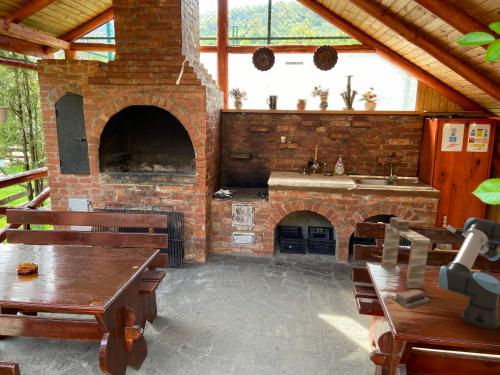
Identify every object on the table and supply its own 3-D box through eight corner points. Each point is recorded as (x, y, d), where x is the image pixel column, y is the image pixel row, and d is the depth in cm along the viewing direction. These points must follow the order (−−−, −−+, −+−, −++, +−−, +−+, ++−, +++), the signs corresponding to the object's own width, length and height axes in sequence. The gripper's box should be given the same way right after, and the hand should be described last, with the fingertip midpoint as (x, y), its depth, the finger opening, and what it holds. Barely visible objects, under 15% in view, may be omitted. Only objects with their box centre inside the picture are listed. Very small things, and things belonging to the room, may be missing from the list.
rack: (423, 287, 207) (430, 239, 201) (407, 287, 205) (414, 239, 200) (394, 265, 238) (399, 223, 232) (380, 266, 236) (385, 223, 231)
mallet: (429, 229, 222) (430, 221, 221) (397, 229, 218) (398, 221, 218) (420, 224, 231) (421, 217, 231) (389, 224, 228) (390, 217, 227)
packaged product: (408, 300, 181) (393, 291, 190) (407, 308, 182) (392, 299, 191) (430, 293, 190) (414, 285, 198) (429, 301, 191) (413, 293, 199)
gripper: (491, 257, 211) (466, 241, 207) (461, 243, 236) (438, 228, 231) (498, 247, 211) (474, 230, 206) (467, 234, 235) (445, 219, 230)
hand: (455, 229), depth 219 cm, fingers open, 13 cm apart
